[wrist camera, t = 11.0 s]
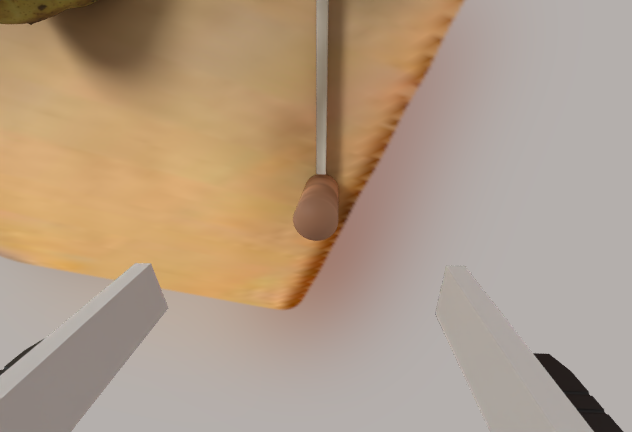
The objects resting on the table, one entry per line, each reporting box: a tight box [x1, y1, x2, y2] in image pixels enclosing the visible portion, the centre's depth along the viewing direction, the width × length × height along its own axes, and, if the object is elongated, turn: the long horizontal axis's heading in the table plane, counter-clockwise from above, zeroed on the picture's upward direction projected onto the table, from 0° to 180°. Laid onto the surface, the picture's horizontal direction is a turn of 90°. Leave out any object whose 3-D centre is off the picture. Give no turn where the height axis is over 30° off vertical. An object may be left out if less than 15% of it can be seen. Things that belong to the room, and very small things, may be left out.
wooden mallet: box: [293, 0, 338, 241], centre depth 16 cm, size 5×25×7 cm, turn 0°
